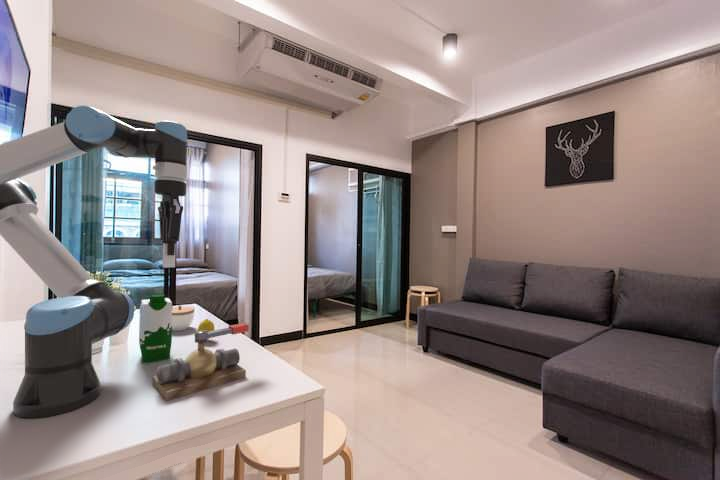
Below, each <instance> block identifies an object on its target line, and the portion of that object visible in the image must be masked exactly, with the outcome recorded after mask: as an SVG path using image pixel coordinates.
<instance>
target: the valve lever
mask: <svg viewBox="0 0 720 480" xmlns="http://www.w3.org/2000/svg"><path fill="white" fill-rule="evenodd" d="M249 325H250V324H249V323H246V322H241V323H237V324H230V325H228V327H224V328H221V329H220V328H219V329H214V331H209V332H208V331H206V330H201V331H198V330H197V331H194V342H195V343H197V344H198V343H203V342H208V341H209V339H211V338H216V337H217V338H218V337H222V336H225V335H226V336H227V335H230V334H231V335H237V334H242V333H246V332H249V330H250V329H249V327H250V326H249ZM208 338H209V339H208Z"/></svg>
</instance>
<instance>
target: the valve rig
mask: <svg viewBox="0 0 720 480" xmlns="http://www.w3.org/2000/svg"><path fill="white" fill-rule="evenodd" d="M239 363H240V352H239V350H238V349H237V348H231V349H227V350H225V349H224V348H219V349H218V348H217V349H216V350H215V351H214V352H213V350H210V349H209V348H205V342H203V343H197V349H195V350H193V351H191V352H190V353H189V354H188V355H187V356H186V358H185V359H184V360H183V358H181V357H179V358H175V359H173V361H172V362H171V363H167V364H163V365H158V366H157V368H156V375H152V376H151V377H152V378H151V379H152V380H151V385H153V387H154V388H155V389H156V390H157V391H158V392H159V394H160V395H161V396H162V397H163V398H164V399H165V400H166V401H170V400H174V399H177V398H180V397H184V396H187V395H190V394H193V393H196V392H199V391H200V392H201V391H203V390H207V389H210V388H213V387H217V386H220V385H223V384H227V383H230V382H233V381H237V380H240V379H243V378H246V377H247V376H246V373H247V372H246V371H247V369H245V368H243V367H242V366H240V365H239Z"/></svg>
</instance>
